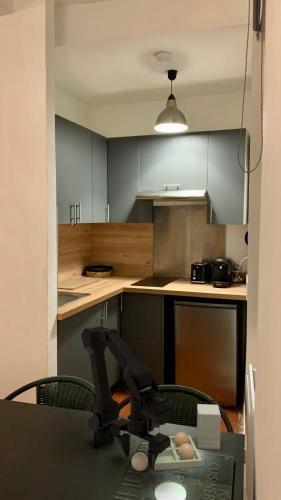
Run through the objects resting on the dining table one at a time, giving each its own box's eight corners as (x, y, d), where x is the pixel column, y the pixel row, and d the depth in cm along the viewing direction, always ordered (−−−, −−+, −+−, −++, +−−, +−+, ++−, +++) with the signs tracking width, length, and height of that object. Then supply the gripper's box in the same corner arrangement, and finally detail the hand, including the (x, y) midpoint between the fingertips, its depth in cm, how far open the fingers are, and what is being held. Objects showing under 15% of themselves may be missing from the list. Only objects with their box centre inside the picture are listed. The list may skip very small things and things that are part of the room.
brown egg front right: (180, 465, 121) (180, 449, 121) (176, 456, 126) (177, 440, 126) (196, 464, 122) (196, 448, 121) (192, 454, 127) (192, 439, 126)
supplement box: (218, 440, 137) (218, 404, 136) (220, 452, 130) (221, 414, 129) (196, 438, 138) (197, 403, 137) (197, 451, 131) (198, 413, 130)
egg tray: (154, 473, 119) (154, 463, 119) (147, 446, 133) (147, 437, 133) (201, 469, 121) (202, 460, 120) (189, 443, 135) (189, 435, 135)
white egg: (132, 475, 117) (132, 459, 117) (130, 465, 122) (130, 449, 122) (149, 474, 118) (149, 457, 117) (146, 464, 123) (146, 448, 122)
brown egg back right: (175, 452, 128) (175, 437, 127) (172, 444, 133) (172, 429, 132) (190, 451, 128) (191, 436, 128) (187, 443, 133) (187, 428, 133)
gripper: (181, 410, 119) (180, 461, 121) (132, 394, 131) (132, 440, 132) (159, 425, 111) (159, 479, 112) (109, 406, 122) (109, 455, 123)
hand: (139, 462), depth 120 cm, fingers open, 9 cm apart
